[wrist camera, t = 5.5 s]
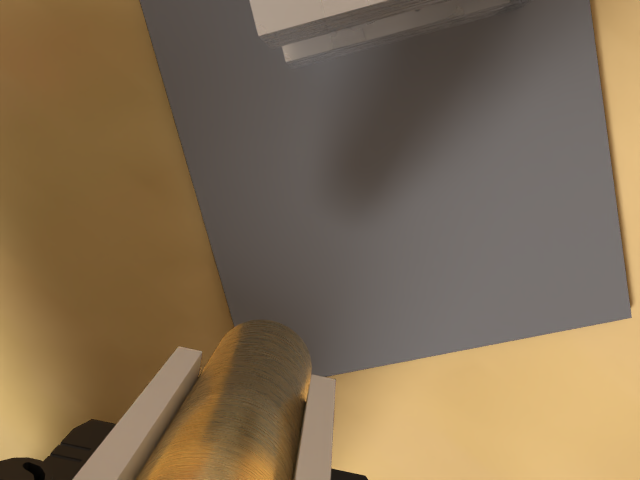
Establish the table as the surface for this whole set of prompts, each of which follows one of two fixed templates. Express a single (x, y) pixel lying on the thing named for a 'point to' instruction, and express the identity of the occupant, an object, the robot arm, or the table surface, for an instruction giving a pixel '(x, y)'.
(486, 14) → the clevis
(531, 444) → the table surface
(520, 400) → the table surface
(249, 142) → the mat
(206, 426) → the pin
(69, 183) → the table surface
